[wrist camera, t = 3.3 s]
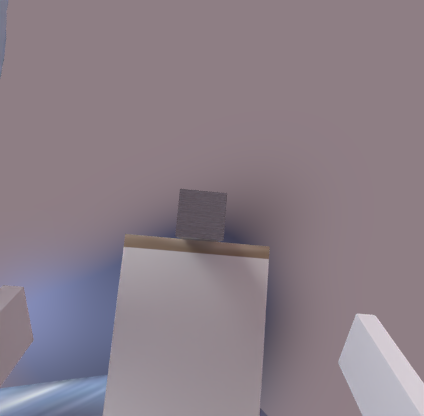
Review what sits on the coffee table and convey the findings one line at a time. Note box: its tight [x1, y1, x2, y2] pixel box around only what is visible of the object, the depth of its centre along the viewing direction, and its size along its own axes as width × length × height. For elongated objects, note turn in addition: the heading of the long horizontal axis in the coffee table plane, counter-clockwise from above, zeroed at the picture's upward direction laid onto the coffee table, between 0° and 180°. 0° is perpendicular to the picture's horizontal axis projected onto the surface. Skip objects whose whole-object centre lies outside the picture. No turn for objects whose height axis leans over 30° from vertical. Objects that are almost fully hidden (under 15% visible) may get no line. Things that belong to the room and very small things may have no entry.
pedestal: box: [103, 234, 269, 416], centre depth 34 cm, size 16×14×30 cm
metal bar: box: [176, 189, 227, 242], centre depth 31 cm, size 26×3×3 cm, turn 3°
